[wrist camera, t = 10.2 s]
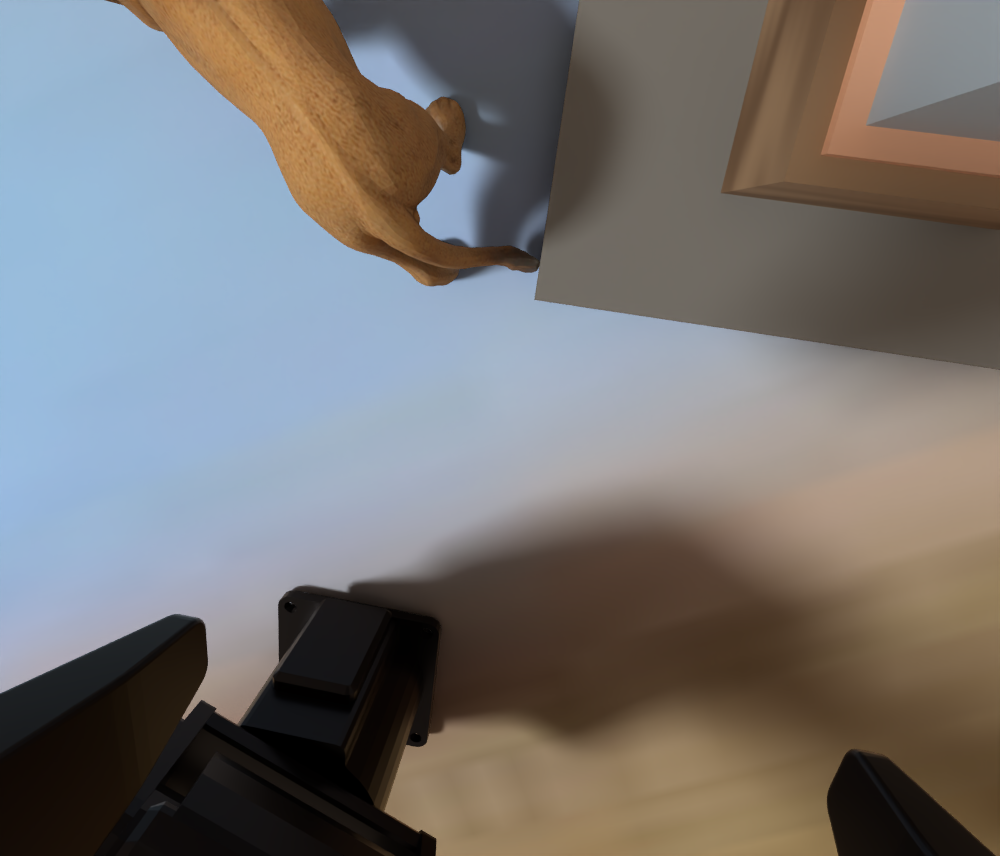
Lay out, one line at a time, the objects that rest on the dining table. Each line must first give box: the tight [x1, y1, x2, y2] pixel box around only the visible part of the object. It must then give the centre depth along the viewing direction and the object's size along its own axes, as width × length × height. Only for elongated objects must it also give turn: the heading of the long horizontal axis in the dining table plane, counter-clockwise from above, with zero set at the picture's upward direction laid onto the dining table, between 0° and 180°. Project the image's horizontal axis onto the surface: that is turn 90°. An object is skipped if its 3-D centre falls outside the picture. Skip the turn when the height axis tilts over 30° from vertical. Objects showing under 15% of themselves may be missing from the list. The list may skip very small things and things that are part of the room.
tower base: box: [535, 0, 1000, 370], centre depth 12 cm, size 14×16×6 cm
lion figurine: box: [106, 0, 540, 286], centre depth 12 cm, size 15×5×9 cm, turn 52°
